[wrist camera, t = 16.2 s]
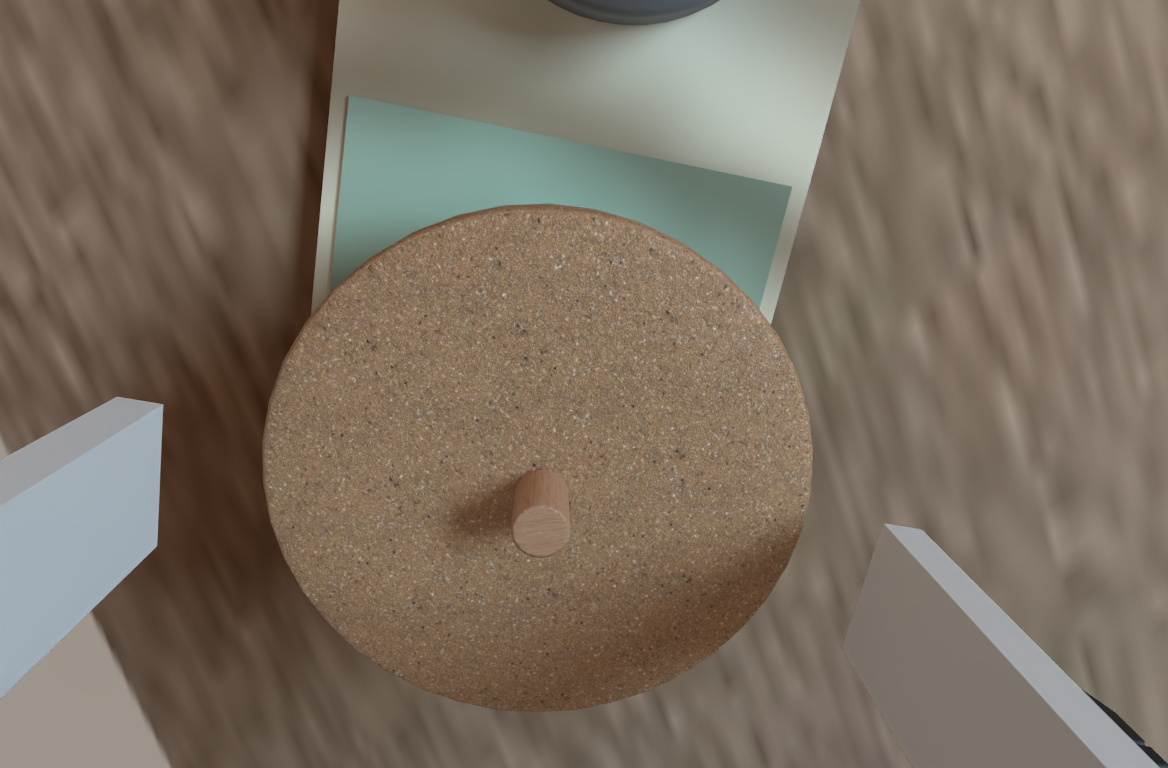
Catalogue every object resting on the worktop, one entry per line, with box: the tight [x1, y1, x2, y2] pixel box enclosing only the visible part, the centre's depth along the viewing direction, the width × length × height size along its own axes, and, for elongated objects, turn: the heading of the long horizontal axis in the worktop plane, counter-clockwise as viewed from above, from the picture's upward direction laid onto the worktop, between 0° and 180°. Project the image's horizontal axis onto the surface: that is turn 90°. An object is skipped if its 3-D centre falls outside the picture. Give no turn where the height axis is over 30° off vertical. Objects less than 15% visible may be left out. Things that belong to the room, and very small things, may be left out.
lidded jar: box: [262, 203, 813, 712], centre depth 17 cm, size 11×11×9 cm
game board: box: [311, 0, 860, 325], centre depth 20 cm, size 25×13×4 cm, turn 169°
